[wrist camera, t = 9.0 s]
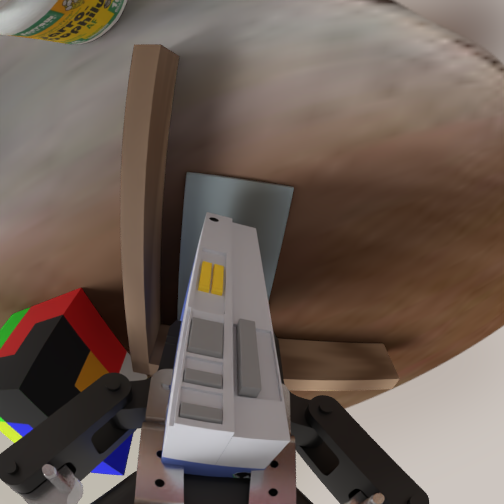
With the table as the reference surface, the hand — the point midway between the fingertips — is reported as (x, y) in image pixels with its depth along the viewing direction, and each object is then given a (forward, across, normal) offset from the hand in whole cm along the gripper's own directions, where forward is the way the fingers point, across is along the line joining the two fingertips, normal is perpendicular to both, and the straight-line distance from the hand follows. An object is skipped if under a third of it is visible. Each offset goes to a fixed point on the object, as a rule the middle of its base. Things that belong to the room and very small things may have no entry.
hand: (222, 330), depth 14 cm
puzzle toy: (+7, +13, +11) cm, 18 cm away
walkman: (+4, +1, 0) cm, 4 cm away
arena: (+6, -4, -2) cm, 8 cm away
